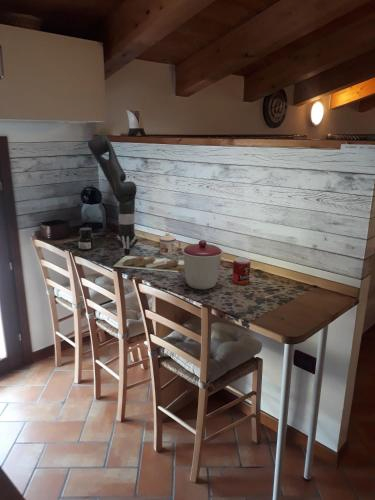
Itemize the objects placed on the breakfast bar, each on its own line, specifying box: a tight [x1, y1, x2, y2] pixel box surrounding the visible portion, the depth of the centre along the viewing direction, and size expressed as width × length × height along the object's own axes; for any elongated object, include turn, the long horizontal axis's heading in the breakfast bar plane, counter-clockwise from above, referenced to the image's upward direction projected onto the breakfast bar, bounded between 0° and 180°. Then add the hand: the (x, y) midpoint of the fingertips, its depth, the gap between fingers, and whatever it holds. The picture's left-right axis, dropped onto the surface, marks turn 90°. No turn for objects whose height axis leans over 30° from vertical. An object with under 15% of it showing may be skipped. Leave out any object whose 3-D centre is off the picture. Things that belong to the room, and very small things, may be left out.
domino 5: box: [169, 264, 185, 273], centre depth 194 cm, size 5×2×10 cm
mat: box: [113, 255, 184, 273], centre depth 202 cm, size 18×34×1 cm, turn 78°
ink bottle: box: [77, 227, 95, 252], centre depth 225 cm, size 10×9×12 cm
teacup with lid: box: [159, 233, 178, 256], centre depth 219 cm, size 12×9×12 cm
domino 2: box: [134, 256, 156, 267], centre depth 197 cm, size 5×2×10 cm
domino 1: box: [123, 255, 145, 266], centre depth 198 cm, size 5×2×10 cm
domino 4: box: [157, 258, 179, 269], centre depth 194 cm, size 5×2×10 cm
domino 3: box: [146, 257, 168, 268], centre depth 196 cm, size 5×2×10 cm
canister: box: [181, 239, 224, 290], centre depth 172 cm, size 18×18×21 cm
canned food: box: [232, 256, 251, 286], centre depth 179 cm, size 8×8×11 cm
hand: (127, 255), depth 198 cm, fingers closed
